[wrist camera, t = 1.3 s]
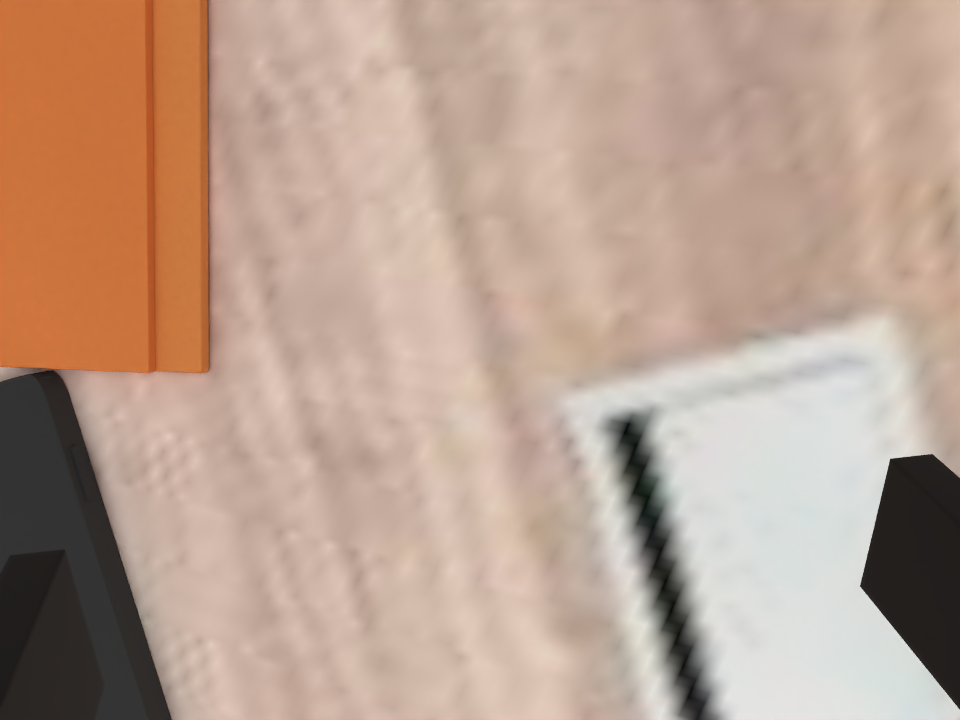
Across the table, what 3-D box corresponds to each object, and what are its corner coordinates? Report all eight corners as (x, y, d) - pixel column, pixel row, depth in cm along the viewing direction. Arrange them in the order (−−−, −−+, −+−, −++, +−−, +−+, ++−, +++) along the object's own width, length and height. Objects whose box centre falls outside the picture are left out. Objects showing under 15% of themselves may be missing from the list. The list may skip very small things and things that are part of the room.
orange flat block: (1, -166, 36) (-23, -184, 34) (207, -174, 35) (192, -193, 33) (13, 363, 38) (-8, 366, 36) (209, 371, 37) (194, 375, 35)
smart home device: (10, 855, 38) (-132, 421, 37) (35, 830, 40) (-100, 415, 39) (180, 819, 37) (38, 370, 36) (198, 795, 39) (63, 366, 38)
